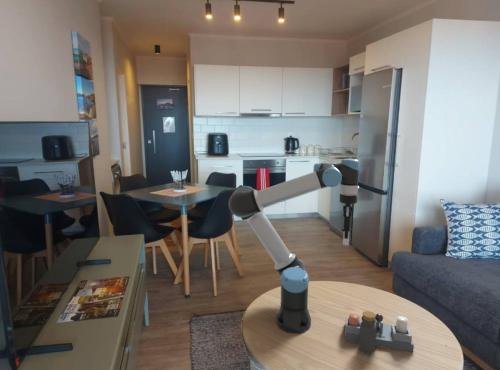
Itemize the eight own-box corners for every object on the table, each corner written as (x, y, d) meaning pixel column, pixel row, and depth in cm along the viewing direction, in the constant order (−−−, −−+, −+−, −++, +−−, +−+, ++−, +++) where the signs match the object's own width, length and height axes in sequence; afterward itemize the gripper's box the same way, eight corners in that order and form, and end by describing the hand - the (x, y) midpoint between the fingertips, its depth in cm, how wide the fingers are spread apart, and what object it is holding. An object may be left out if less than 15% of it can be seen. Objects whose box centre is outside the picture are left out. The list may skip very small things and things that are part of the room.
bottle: (377, 353, 127) (380, 317, 124) (364, 355, 125) (367, 319, 123) (368, 343, 132) (370, 309, 130) (355, 346, 131) (357, 311, 128)
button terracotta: (348, 329, 135) (349, 318, 134) (348, 324, 139) (349, 313, 138) (358, 331, 134) (359, 319, 133) (358, 325, 138) (359, 314, 137)
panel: (345, 340, 134) (346, 324, 133) (344, 324, 145) (345, 308, 144) (413, 351, 128) (414, 334, 126) (407, 333, 139) (408, 317, 138)
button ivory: (396, 332, 130) (397, 321, 129) (395, 326, 134) (396, 315, 133) (407, 334, 129) (408, 322, 128) (405, 328, 133) (406, 317, 132)
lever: (372, 331, 136) (375, 319, 128) (372, 323, 138) (375, 311, 130) (380, 332, 136) (383, 320, 127) (379, 325, 138) (383, 312, 129)
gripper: (357, 197, 140) (354, 250, 144) (357, 191, 153) (354, 240, 157) (339, 196, 143) (336, 248, 147) (340, 190, 155) (337, 239, 159)
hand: (345, 244), depth 152 cm, fingers closed
